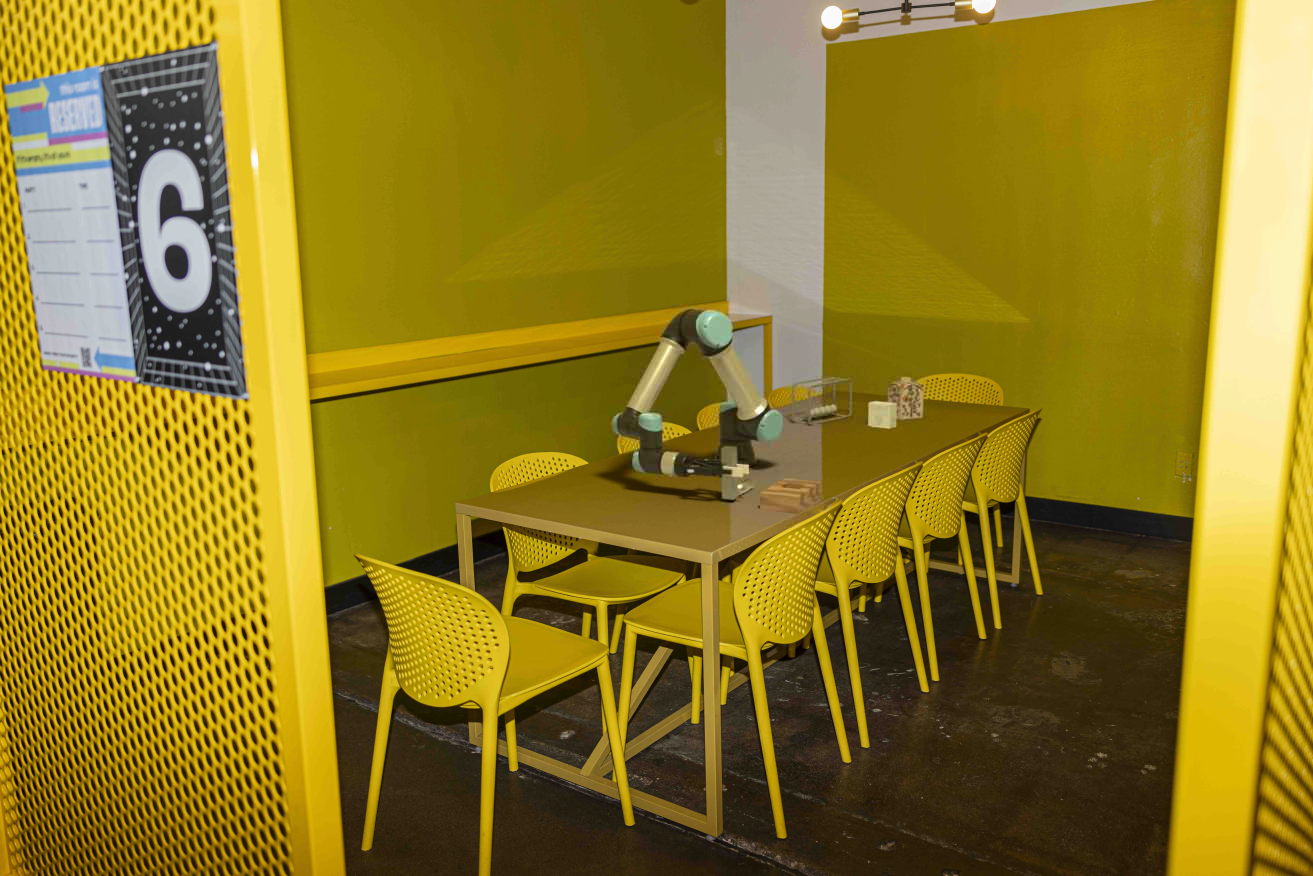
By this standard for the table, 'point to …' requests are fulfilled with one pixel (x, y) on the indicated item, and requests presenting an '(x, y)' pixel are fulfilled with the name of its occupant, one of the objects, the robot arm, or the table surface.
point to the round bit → (744, 486)
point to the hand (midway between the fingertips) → (745, 471)
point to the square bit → (729, 481)
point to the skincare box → (882, 414)
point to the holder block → (790, 495)
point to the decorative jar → (907, 398)
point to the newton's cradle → (827, 409)
